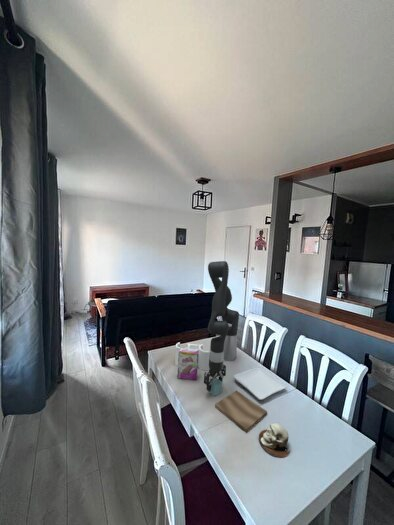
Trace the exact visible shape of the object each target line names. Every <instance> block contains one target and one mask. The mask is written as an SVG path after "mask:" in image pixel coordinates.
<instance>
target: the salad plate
mask: <svg viewBox="0 0 394 525" xmlns="http://www.w3.org/2000/svg"><path fill="white" fill-rule="evenodd" d="M232 377H233V379H234V380H235V381H236V382H237V383H239V384H240V385H241V386H242V387H244V388H245V389H246V390H247V391H248V392H250V393H251V394H252V395H253V396H254V397H255V398H256V399H257V400H259V401H264V400H265V399H266V398H268V397H271V396H273V395H274V394H276V393H278V392H281V391H283V390H286V389H287V388H288V386H287V385H286V384H284V382H282V381H280V380H279V379H277V378H276V377H274V376H273V375H272V374H270V373H268V372H267V371H266V370H264V369H263V368H261V367H260V366H257V367H254V368H251V369H248V370H245V371H242V372H239V373H236V374H233V376H232Z"/></svg>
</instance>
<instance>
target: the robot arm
mask: <svg viewBox="0 0 394 525" xmlns="http://www.w3.org/2000/svg"><path fill="white" fill-rule="evenodd" d="M207 270H208V275H209V278H210V280H211V282H212V284H213V289H214V294H213V296H212V301H211V316H210V319H209V322H208V325H207V330H208V333H209V334H210V335H213V336H214V337H212V338H211V339H210V346H209V351H210V353H209V368H210V370H209V371H204V376H203V384H205V386H206V391H207V390H208V391H207V392H208V393H210V391H211V383H212V381H214V379H215V378H217V379H219V380H220V381H222V382H223V379H224V377H226V376H227V366H226V365H225V364H224V361H227V362H233V361H235V360H236V358H237V351H238V350H237V349H238V344H237V342H238V341H237V340H238V331H239V330H238V329H239V319H240V313H239V311H237V310H232V309H229V308H228V306H229V305H230V304H231V302H232V300H233V295H232V292H231V289H230V287H229V286H228V284H229V283H228V282H229V271H230V270H229V264H228V262H227V261H225V260H220V261H210V262H209V263H208V264H207ZM218 317H221V320H216V319H217V318H218ZM229 325H231V326H229ZM215 335H216V336H215ZM209 380H210V382H209Z"/></svg>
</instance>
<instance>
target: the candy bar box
mask: <svg viewBox="0 0 394 525" xmlns="http://www.w3.org/2000/svg"><path fill="white" fill-rule="evenodd" d="M198 356H199V350H198V349H189V348H187V347H180V350H179V359H178V366H177V379H183V380H190V381H191V380H192V381H197V378H198V370H199V367H198Z"/></svg>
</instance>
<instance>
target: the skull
mask: <svg viewBox="0 0 394 525" xmlns="http://www.w3.org/2000/svg"><path fill="white" fill-rule="evenodd" d="M258 440H259V443H260V446H261V447H262V448H263V449H264V450H265V451H266V452H267V453H269V455H272V456H274V457H276V458H285V457H288V455H290V453H291V450H289V449H288V447H287V444H288V442H289V433H288V431H287V429H286V428H285V427H284V426H283V425H282V424H280V423H277V422H275V423H274V422H273V423H271V424H269V427H268V428H266V429H263V430H261V431H260V433H259V435H258Z"/></svg>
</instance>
